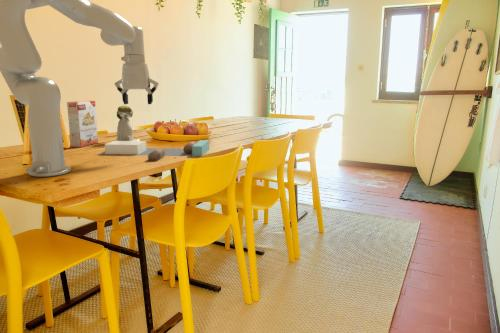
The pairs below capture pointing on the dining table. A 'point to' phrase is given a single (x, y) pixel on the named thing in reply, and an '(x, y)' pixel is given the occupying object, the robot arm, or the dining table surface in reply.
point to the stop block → (200, 148)
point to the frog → (124, 124)
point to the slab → (125, 147)
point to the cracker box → (82, 123)
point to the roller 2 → (189, 147)
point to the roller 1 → (156, 155)
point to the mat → (148, 150)
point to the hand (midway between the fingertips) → (138, 104)
